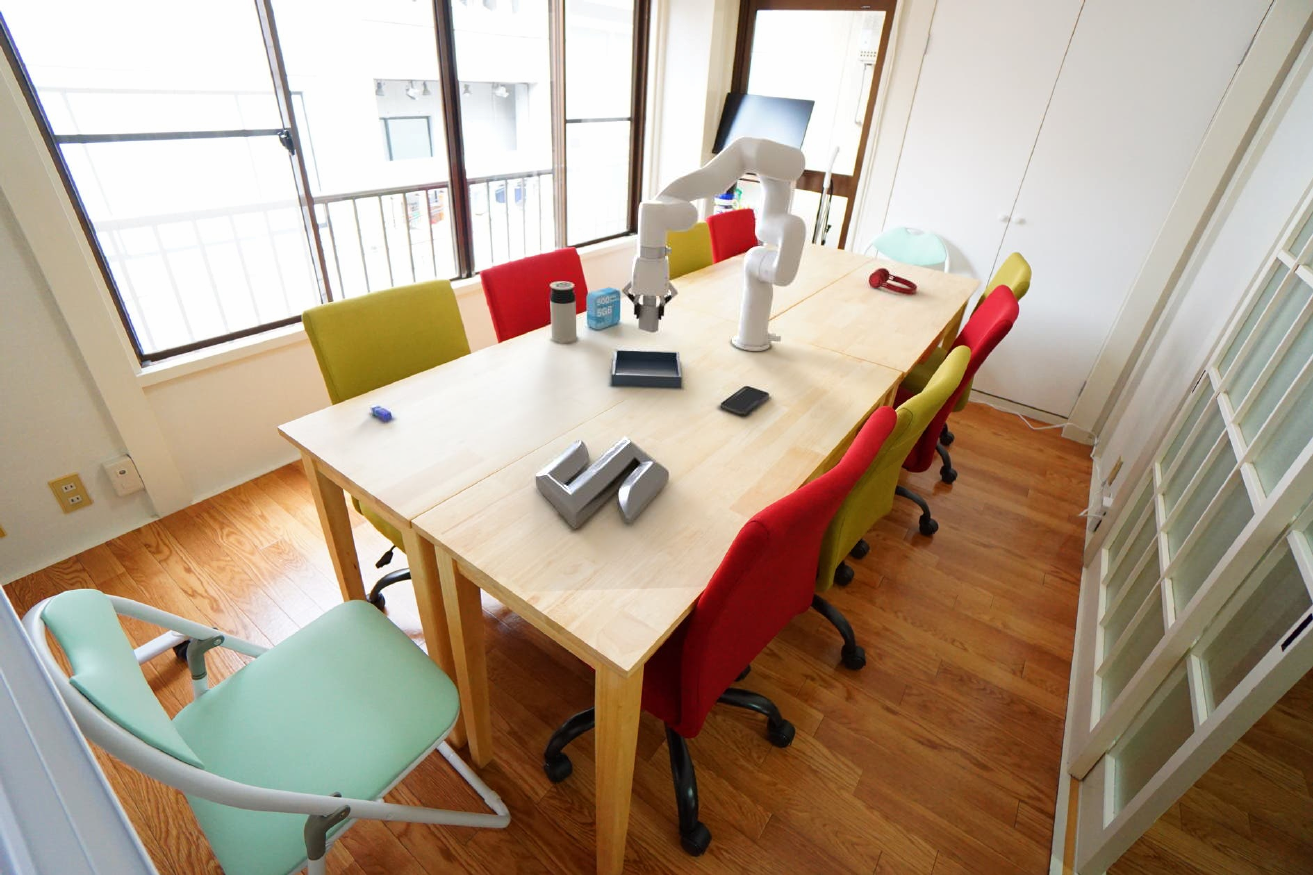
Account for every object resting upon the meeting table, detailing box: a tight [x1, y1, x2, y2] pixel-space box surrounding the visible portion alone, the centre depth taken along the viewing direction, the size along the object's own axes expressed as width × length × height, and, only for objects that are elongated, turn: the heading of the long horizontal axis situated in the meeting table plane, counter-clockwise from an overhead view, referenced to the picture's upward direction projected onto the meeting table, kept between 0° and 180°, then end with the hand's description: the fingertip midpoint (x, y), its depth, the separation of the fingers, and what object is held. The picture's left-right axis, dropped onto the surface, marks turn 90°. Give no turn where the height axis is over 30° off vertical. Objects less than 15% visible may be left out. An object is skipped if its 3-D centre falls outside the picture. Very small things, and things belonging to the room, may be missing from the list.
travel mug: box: [549, 280, 577, 344], centre depth 185 cm, size 8×8×18 cm
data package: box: [586, 286, 621, 331], centre depth 199 cm, size 12×4×12 cm, turn 138°
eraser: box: [369, 404, 393, 422], centre depth 142 cm, size 2×6×2 cm, turn 53°
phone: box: [720, 385, 770, 417], centre depth 157 cm, size 8×1×15 cm
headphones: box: [868, 267, 918, 295], centre depth 255 cm, size 15×7×20 cm
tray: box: [610, 348, 683, 389], centre depth 169 cm, size 20×18×4 cm
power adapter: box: [637, 295, 660, 334], centre depth 160 cm, size 3×5×12 cm, turn 55°
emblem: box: [535, 436, 670, 530], centre depth 121 cm, size 28×5×28 cm
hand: (648, 317), depth 161 cm, fingers closed on power adapter, 5 cm apart
